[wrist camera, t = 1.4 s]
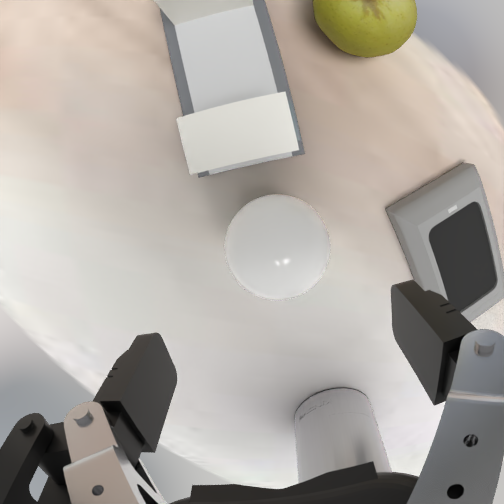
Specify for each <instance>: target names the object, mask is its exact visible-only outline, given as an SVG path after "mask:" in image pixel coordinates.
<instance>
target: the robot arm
mask: <svg viewBox="0 0 504 504" xmlns="http://www.w3.org/2000/svg"><path fill="white" fill-rule="evenodd" d="M391 303H392V328H393V333H394V337H395V340H396V342H397V344H398V345H399V347H400V348H401V350H402V352H403V353H404V355H405V357H406V358H407V360H408V362H409V363H410V365H411V367H412V368H413V370H414V372H415V373H416V375H417V377H418V378H419V380H420V382H421V384H422V385H423V387H424V389H425V391H426V392H427V394H428V396H429V398H430V399H431V401H432V403H433V405H437V404H439V403H442V402H444V401H446V403H445V407H444V410H443V413H442V416H441V420H440V423H439V426H438V429H437V432H436V435H435V437H434V440H433V443H432V446H431V448H430V451H429V454H428V456H427V459H426V461H425V464H424V466H423V469H422V471H421V474H420V476H419V477H417V476H414V475H410V474H405V473H397V472H392V470H391V467H390V464H389V460H388V457H387V454H386V450H385V447H384V444H383V441H382V438H381V435H380V431H379V428H378V425H377V422H376V419H375V416H374V413H373V410H372V407H371V404H370V402H369V400H368V398H367V397H366V396H365V395H364V394H363V393H361V392H359V391H357V390H353V389H346V388H339V389H331V390H326V391H323V392H320V393H318V394H316V395H314V396H312V397H310V398H309V399H307V400H306V401H305V402H303V403H302V404H301V406H300V407H299V408H298V410H297V411H296V414H295V433H296V451H297V466H298V482H299V484H296V485H293V486H290V487H287V488H284V489H268V488H259V487H251V486H243V485H236V484H229V485H193V486H192V491H191V496H190V497H188V498H184V499H181V500H178V501H175V502H173V503H170V504H492V503H493V499H494V495H495V492H496V488H497V484H498V480H499V475H500V471H501V466H502V461H503V456H504V336H503V335H501V334H500V333H498V332H496V331H493V330H488V329H480V330H477V329H476V328H475V327H474V326H473V325H472V324H471V323H470V322H469V321H468V320H467V319H466V318H465V317H464V316H463V315H462V314H461V313H460V312H459V311H458V310H456V308H455V307H454V306H453V305H452V304H450V302H449V301H448V300H447V299H446V298H444V297H443V296H442V295H441V294H438V293H436V292H434V291H431V290H427V291H424V290H423V289H422V288H421V287H420V286H419V285H418V284H417V283H416V282H415V281H414V280H410V281H406V282H402V283H399V284H395V285H392V287H391ZM176 384H177V373H176V369H175V366H174V364H173V362H172V360H171V357H170V355H169V353H168V351H167V348H166V346H165V344H164V341H163V339H162V337H161V335H160V334H159V333H151V334H144V335H138V336H137V337H136V338H135V340H134V341H133V343H132V345H131V347H130V348H129V350H127V351H126V352H125V353H123V354H122V355H121V356H120V357H119V358H118V359H117V360H116V362H115V364H114V365H113V367H112V370H110V372H109V374H108V378H106V379H105V381H104V382H103V384H102V386H101V387H100V389H99V391H98V393H97V394H96V396H95V398H94V400H93V401H92V402H84V403H82V404H79V405H77V406H75V407H74V408H73V409H71V410H70V411H69V412H68V414H67V415H66V417H65V419H64V422H61V423H56V424H51V425H49V424H48V422H47V421H46V420H45V419H44V417H43V416H42V415H41V414H39V413H33V414H29V415H27V416H25V417H23V418H22V419H20V420H19V421H18V422H17V423H16V425H15V426H14V428H13V430H12V431H11V432H10V434H9V436H8V437H7V439H6V441H5V442H4V444H3V445H2V447H1V449H0V504H167V503H166V502H165V500H164V499H163V497H162V495H161V494H160V492H159V490H158V489H157V487H156V485H155V484H154V482H153V480H152V479H151V477H150V475H149V473H148V471H147V470H146V468H145V466H144V465H143V463H142V461H141V460H140V459H139V457H140V454H141V452H155V451H156V447H157V444H158V441H159V438H160V434H161V431H162V428H163V425H164V422H165V418H166V415H167V412H168V409H169V406H170V403H171V400H172V396H173V393H174V390H175V387H176ZM38 466H39V467H40V468H41V469H42V470H43V471H44V472H45V473H46V474H47V475H48V476H49V477H48V479H47V482H46V484H45V486H44V488H43V491H42V493H41V496H40V498H39V500H38V502H37V501H36V500H34V499H33V497H32V496H31V494H30V491H29V484H30V482H31V480H32V478H33V475H34V473H35V471H36V469H37V467H38Z"/></svg>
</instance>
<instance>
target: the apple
mask: <svg viewBox="0 0 504 504" xmlns="http://www.w3.org/2000/svg"><path fill="white" fill-rule="evenodd" d="M313 9H314V16H315V20H316V22H317V24H318V26H319V27H320V29H321V30H322V31H323V32H324V34H325V35H326V36H327V37H328V38H329V39H330V40H331V41H332V42H333V43H334V44H335V45H336V46H337V47H338V48H339V49H341V50H343V51H344V52H346V53H349V54H352V55H356V56H361V57H376V56H382V55H386V54H390V53H392V52H394V51H395V50H397V49H398V48H400V47H401V46H402V45H403V44H404V43H405V42H406V41H407V40H408V39H409V37H410V36H411V34H412V33H413V31H414V28H415V25H416V20H417V8H416V3H415V0H313Z"/></svg>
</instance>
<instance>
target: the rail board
mask: <svg viewBox="0 0 504 504" xmlns="http://www.w3.org/2000/svg"><path fill="white" fill-rule="evenodd" d="M160 11H161V16H162V21H163V26H164V31H165V35H166V40H167V45H168V49H169V54H170V59H171V63H172V68H173V72H174V77H175V81H176V86H177V90H178V94H179V99H180V103H181V107H182V112H183V116H185V115H189V114H192V113H195V112H199V111H203V110H206V109H210V108H214V107H217V106H221V105H225V104H229V103H233V102H238V101H242V100H246V99H251V98H255V97H260V96H265V95H269V94H274V93H280V92H286V96H287V100H288V102H289V101H292V97H291V93H290V89H289V85H288V81H287V77H286V73H285V69H284V66H283V62H282V58H281V55H280V51H279V48H278V44H277V41H276V37H275V34H274V30H273V27H272V23H271V20H270V17H269V14H268V10H267V7H266V4H265V1H264V0H253V5H252V6H247V7H242V8H237V9H233V10H229V11H224V12H220V13H216V14H212V15H209V16H205V17H201V18H198V19H194V20H191V21H188V22H184V23H181V24H178V25H174V24H173V23H172V22H171V21H170V19H169V18H168V17H167V16H166V14H165V13H164V12H163V11H162V10H161V8H160ZM292 103H293V101H292ZM293 107H294V105H293ZM294 111H295V109H294ZM295 115H296V113H295ZM296 120H297V117H296ZM297 124H298V121H297ZM298 128H299V126H298ZM299 132H300V130H299ZM300 137H301V134H300ZM297 142H298V147H299V150H297V151H292V152H287V153H282V154H277V155H272V156H268V157H263V158H258V159H254V160H249V161H245V162H241V163H236V164H232V165H228V166H224V167H220V168H216V169H212V170H208V171H204V172H200V173H198V177H203V176H207V175H212V174H216V173H220V172H224V171H228V170H232V169H237V168H241V167H245V166H250V165H254V164H259V163H263V162H268V161H273V160H278V159H282V158H287V157H292V156H296V155H301V154H305V152H304V148H303V143H302V139H301V140H299V141H297Z"/></svg>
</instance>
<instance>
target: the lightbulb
mask: <svg viewBox="0 0 504 504" xmlns="http://www.w3.org/2000/svg"><path fill="white" fill-rule="evenodd" d="M330 251H331V244H330V237H329V233H328V230H327V227H326V225H325V223H324V221H323V219H322V218H321V216H320V215H319V214H318V213H317V211H316V210H315V209H314V208H313V207H311V206H310V205H309V204H307V203H306V202H304V201H302V200H301V199H298V198H296V197H293V196H289V195H283V194H272V195H266V196H262V197H259V198H257V199H254V200H252V201H251V202H249V203H247V204H246V205H245V206H244V207H242V208H241V209H240V210H239V211H238V212H237V214H236V215H235V216H234V218H233V219H232V221H231V223H230V225H229V227H228V229H227V232H226V236H225V243H224V252H225V258H226V262H227V265H228V268H229V270H230V272H231V274H232V276H233V277H234V279H235V280H236V281H237V282H238V283H239V284H240V285H241V286H242V287H243V288H244V289H245V290H246V291H248V292H249V293H251V294H253V295H255V296H257V297H260V298H263V299H267V300H274V301H281V300H288V299H292V298H295V297H298V296H300V295H302V294H304V293H306V292H307V291H309V290H310V289H311V288H312V287H313V286H315V285H316V283H317V282H318V281H319V280H320V279H321V277H322V276H323V274H324V272H325V270H326V268H327V265H328V262H329V258H330Z"/></svg>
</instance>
